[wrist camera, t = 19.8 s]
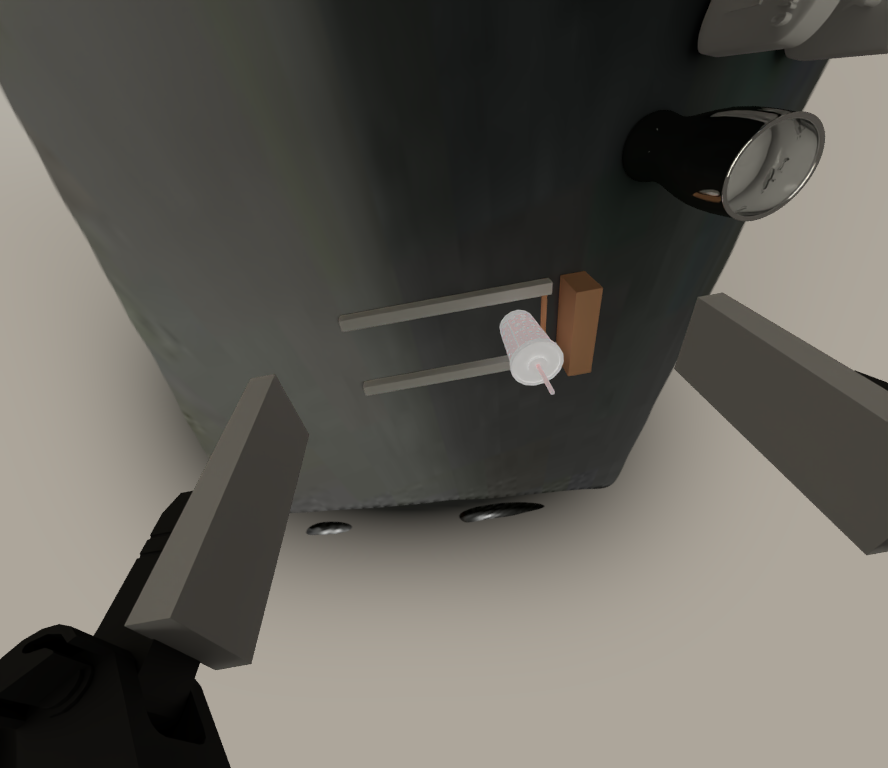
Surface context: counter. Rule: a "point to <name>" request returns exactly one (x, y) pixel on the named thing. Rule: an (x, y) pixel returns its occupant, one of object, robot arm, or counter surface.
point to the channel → (573, 310)
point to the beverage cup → (530, 350)
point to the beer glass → (727, 157)
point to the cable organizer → (795, 28)
